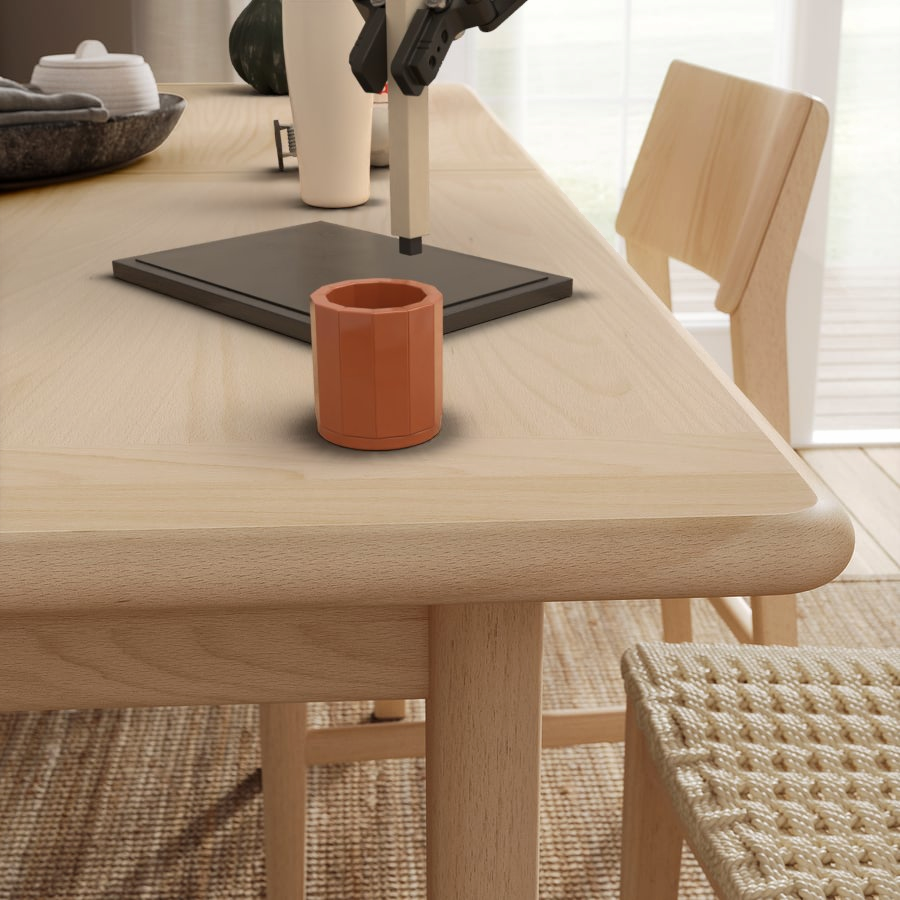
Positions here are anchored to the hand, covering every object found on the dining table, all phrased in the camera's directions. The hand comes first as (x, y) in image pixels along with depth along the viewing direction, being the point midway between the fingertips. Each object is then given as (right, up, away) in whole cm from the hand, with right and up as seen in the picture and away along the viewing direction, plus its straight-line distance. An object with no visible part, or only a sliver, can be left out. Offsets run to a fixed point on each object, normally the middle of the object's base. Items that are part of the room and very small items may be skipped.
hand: (384, 82), depth 57 cm
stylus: (+1, -7, +5) cm, 9 cm away
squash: (-20, +32, +107) cm, 113 cm away
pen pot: (0, -17, -10) cm, 20 cm away
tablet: (-3, -8, +10) cm, 14 cm away
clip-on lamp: (-6, +8, +49) cm, 50 cm away
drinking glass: (-6, +1, +33) cm, 34 cm away
